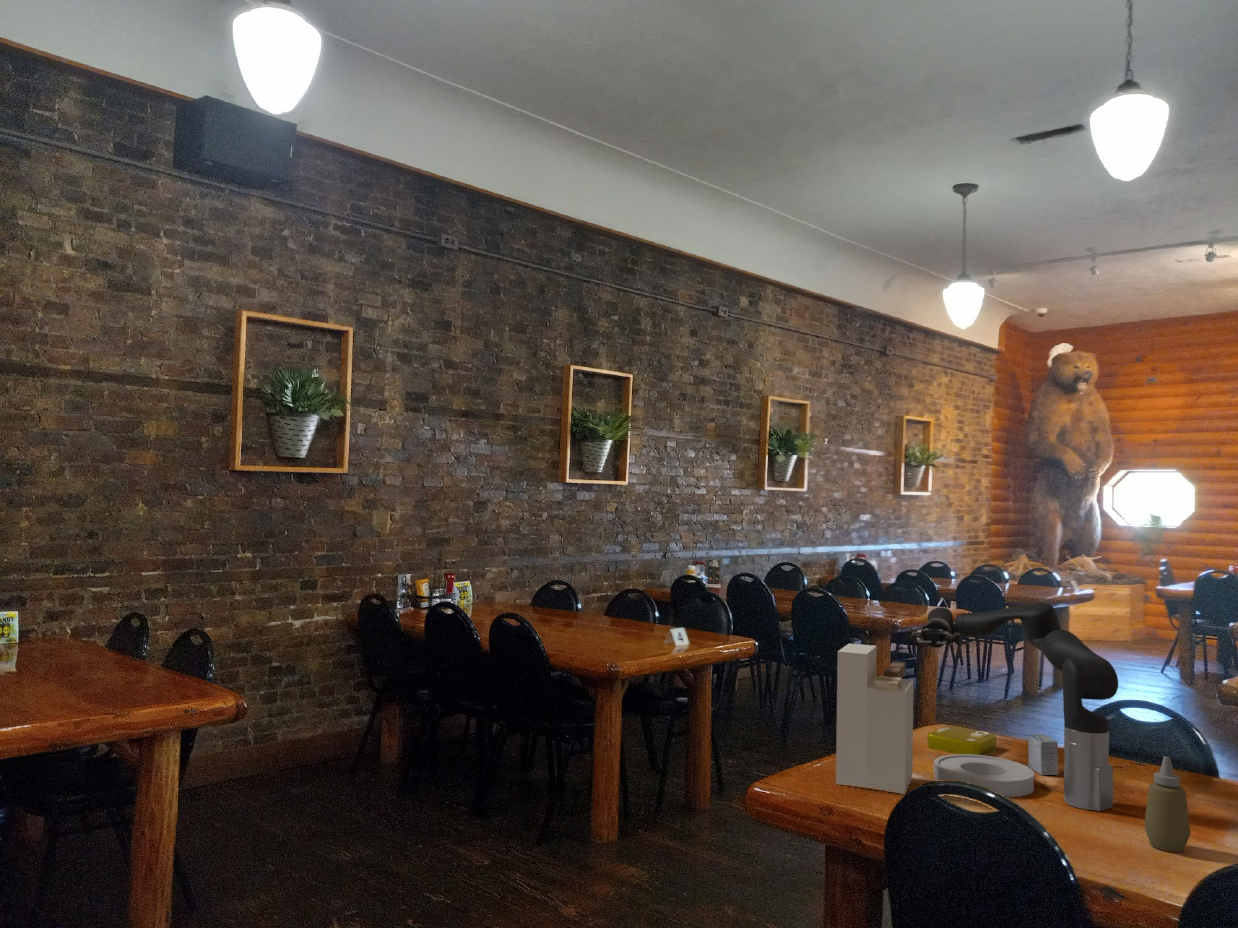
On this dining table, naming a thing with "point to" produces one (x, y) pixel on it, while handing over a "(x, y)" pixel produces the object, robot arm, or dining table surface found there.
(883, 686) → the brown bar
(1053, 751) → the medicine box
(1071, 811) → the dining table surface
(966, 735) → the element tile
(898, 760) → the display stand
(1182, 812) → the squeeze bottle
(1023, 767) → the ashtray
